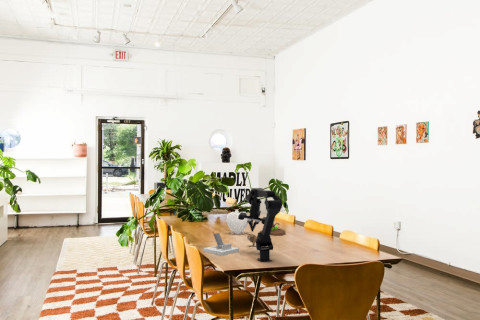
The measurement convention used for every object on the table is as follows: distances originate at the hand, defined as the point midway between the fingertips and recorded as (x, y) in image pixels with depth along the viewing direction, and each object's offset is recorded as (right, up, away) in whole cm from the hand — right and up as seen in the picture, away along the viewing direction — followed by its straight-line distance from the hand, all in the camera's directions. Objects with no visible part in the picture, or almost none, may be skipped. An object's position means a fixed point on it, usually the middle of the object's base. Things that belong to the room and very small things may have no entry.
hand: (252, 231), depth 275 cm
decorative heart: (-10, -13, +67) cm, 69 cm away
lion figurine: (+4, -14, +21) cm, 25 cm away
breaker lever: (-19, -10, +4) cm, 22 cm away
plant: (+18, -14, +73) cm, 77 cm away
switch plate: (-19, -13, +4) cm, 24 cm away
